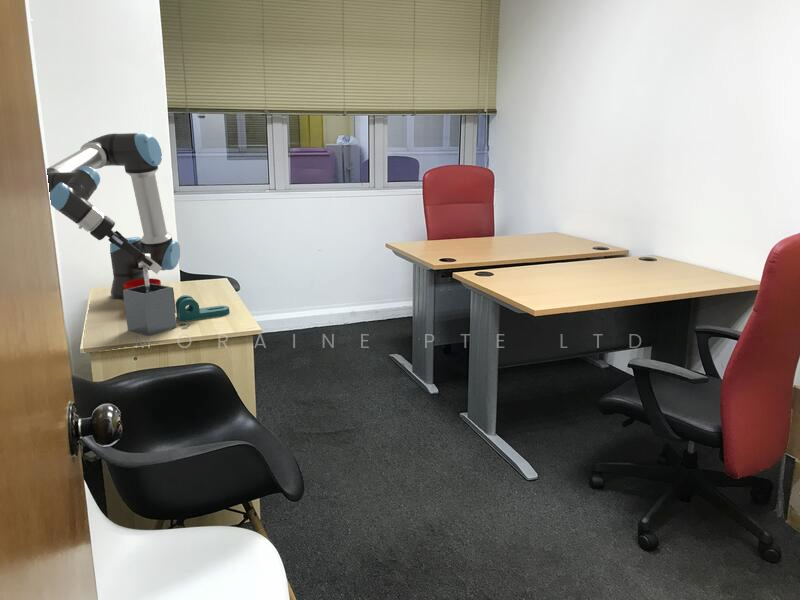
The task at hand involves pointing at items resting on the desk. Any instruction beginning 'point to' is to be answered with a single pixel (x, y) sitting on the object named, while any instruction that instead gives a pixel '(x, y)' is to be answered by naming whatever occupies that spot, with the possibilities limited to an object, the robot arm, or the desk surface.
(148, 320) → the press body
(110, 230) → the robot arm
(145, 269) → the plunger
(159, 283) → the ceramic cup
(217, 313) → the bracket
